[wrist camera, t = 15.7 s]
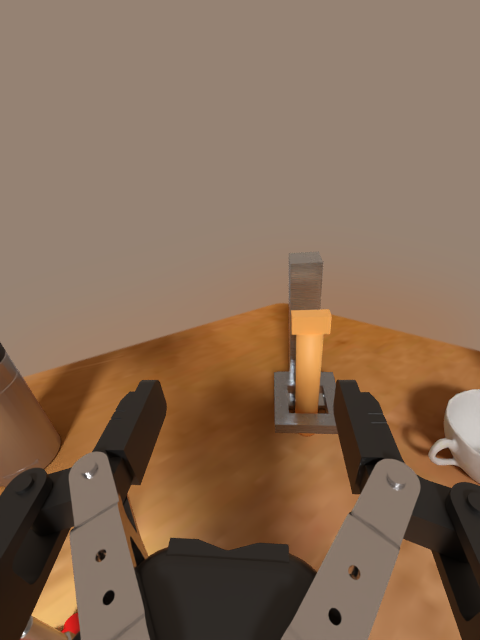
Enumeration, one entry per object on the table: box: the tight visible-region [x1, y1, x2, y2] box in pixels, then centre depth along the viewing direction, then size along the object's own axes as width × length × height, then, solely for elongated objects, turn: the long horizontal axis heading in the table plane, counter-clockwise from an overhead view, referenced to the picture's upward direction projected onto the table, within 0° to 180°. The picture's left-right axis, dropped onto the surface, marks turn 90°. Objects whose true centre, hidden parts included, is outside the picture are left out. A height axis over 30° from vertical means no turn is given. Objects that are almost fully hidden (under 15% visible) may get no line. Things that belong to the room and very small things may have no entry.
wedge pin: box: [291, 309, 332, 436], centre depth 39 cm, size 4×3×20 cm
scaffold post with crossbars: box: [274, 252, 338, 434], centre depth 46 cm, size 28×9×24 cm, turn 175°
